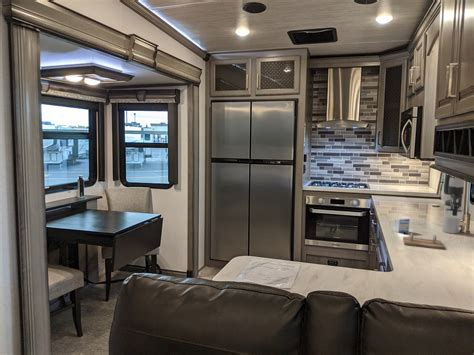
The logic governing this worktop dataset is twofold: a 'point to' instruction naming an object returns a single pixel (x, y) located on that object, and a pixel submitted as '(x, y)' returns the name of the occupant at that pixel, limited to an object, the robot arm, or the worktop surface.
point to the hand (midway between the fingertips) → (453, 214)
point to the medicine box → (401, 225)
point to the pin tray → (423, 242)
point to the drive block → (449, 212)
